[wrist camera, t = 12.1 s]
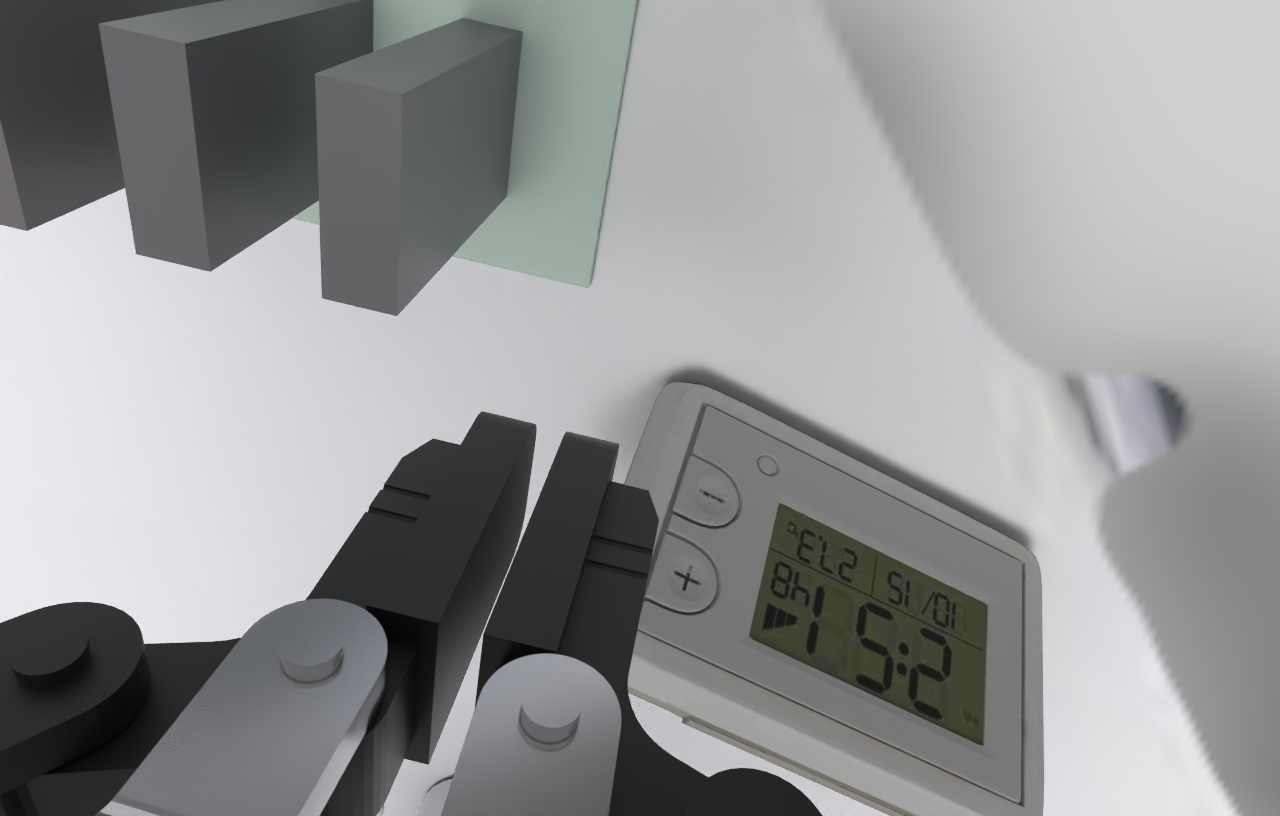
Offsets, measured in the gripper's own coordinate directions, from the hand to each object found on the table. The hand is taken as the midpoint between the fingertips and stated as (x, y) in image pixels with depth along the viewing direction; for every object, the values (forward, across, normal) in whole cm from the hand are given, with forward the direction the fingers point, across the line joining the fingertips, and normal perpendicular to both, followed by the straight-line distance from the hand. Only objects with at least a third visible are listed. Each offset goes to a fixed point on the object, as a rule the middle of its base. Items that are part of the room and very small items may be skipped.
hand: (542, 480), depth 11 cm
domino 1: (+17, +15, 0) cm, 22 cm away
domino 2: (+17, +10, 0) cm, 20 cm away
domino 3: (+17, +6, 0) cm, 18 cm away
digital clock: (+17, -8, +12) cm, 23 cm away
